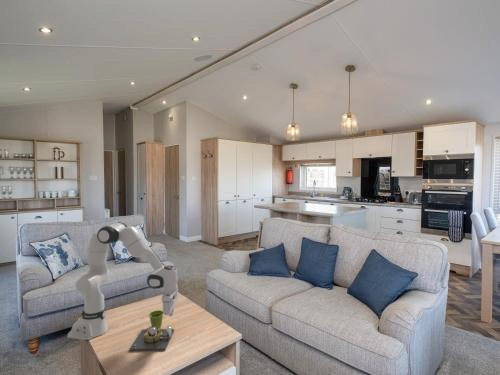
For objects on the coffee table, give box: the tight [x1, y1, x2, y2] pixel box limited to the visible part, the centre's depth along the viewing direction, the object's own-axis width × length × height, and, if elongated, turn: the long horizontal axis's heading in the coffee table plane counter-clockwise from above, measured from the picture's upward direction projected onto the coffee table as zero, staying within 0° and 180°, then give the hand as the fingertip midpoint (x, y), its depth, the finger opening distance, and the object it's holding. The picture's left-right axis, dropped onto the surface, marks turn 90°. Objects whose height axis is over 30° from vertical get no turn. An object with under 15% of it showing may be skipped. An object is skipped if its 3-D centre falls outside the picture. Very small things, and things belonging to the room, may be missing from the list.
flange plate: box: [129, 326, 175, 352], centre depth 173 cm, size 20×20×8 cm
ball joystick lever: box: [144, 325, 172, 343], centre depth 173 cm, size 16×10×6 cm, turn 90°
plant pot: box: [148, 309, 164, 329], centre depth 189 cm, size 9×9×9 cm
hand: (171, 315), depth 178 cm, fingers closed
